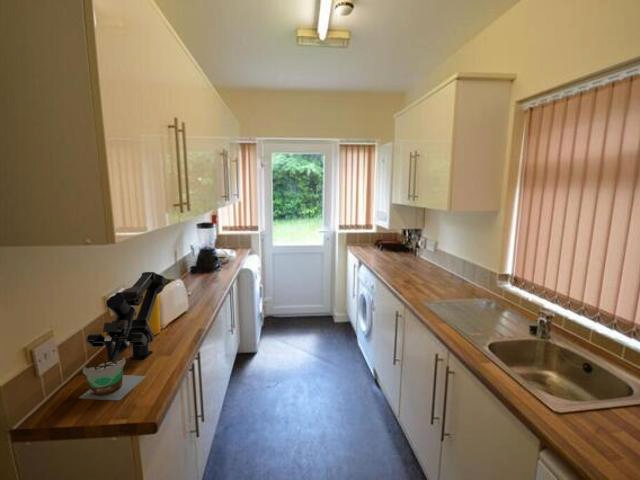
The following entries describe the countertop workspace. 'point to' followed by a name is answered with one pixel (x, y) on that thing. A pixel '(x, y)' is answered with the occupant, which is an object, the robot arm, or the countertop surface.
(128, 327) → the robot arm
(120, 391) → the slate mat
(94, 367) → the food container
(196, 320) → the countertop surface
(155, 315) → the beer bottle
